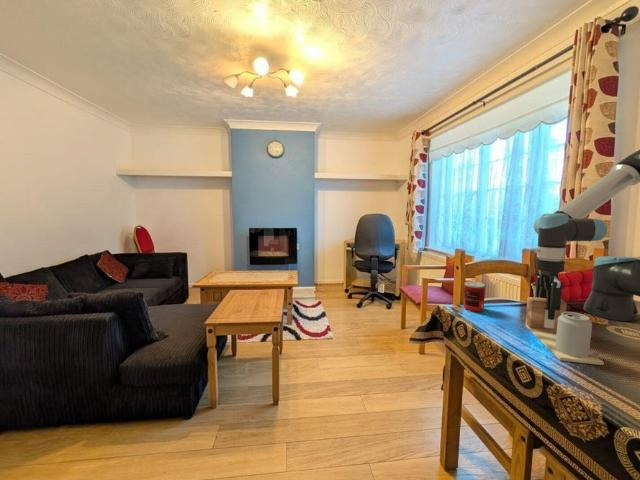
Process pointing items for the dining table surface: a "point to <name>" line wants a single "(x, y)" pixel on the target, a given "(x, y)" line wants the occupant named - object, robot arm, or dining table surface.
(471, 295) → the canned food
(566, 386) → the dining table surface
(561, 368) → the dining table surface
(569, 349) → the can
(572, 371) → the dining table surface
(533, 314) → the wooden bracket
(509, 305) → the dining table surface
